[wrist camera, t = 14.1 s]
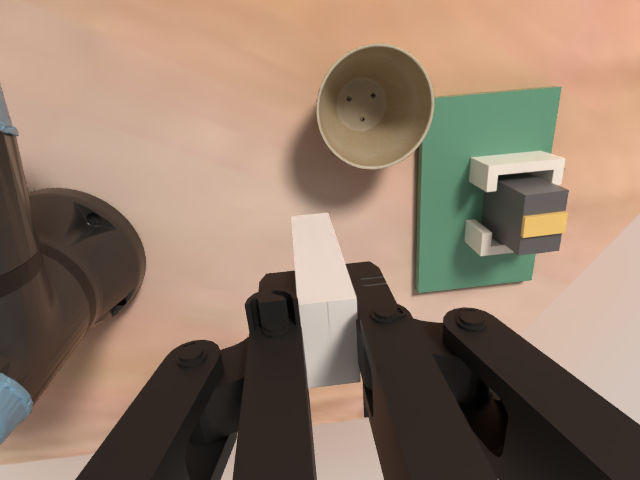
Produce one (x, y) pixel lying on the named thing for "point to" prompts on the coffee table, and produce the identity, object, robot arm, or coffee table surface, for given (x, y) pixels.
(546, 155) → the board
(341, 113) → the flower pot
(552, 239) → the plug
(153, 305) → the coffee table surface
